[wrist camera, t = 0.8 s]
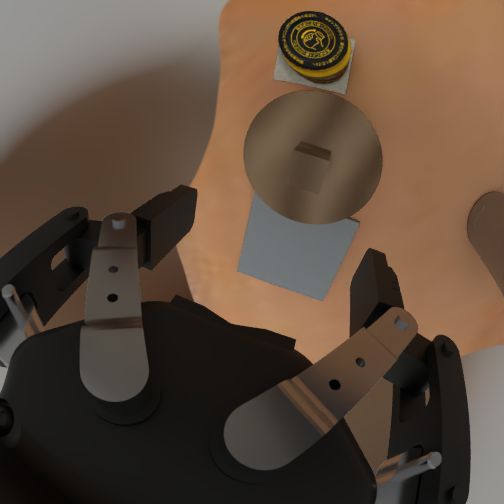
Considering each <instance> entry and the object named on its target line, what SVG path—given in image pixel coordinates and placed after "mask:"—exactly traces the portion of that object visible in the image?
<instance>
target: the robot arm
mask: <svg viewBox="0 0 504 504" xmlns="http://www.w3.org/2000/svg"><path fill="white" fill-rule="evenodd" d="M196 202H197V189H195V188H192V187H188V186H185V185H180V186H178V187H177V188H175V189H173V190H172V191H170V192H165V193H161V194H158V195H157V196H155V197H154V198H152V200H149V201H148V202H147V203H145V204H143V205H142V206H140V207H139V208H137V209H136V210H134V211H133V212H131V213H127V212H116V213H112V214H109V215H107V216H106V217H105V218H104V219H103V221H95V220H89V216H88V210H87V209H86V208H84V207H71V208H67V209H65V210H63V211H62V212H60V213H59V214H57V215H56V216H54V217H53V218H52V219H50V220H49V221H47V222H46V223H45V224H43V225H42V226H41V227H39V228H38V229H37V230H35V231H34V232H32V233H31V234H30V235H29V236H27V237H26V238H25V239H24V240H22V241H21V242H20V243H18V244H17V245H16V246H15V247H13V248H12V249H11V250H10V251H9V252H7V253H6V254H5V255H4V256H3V257H2V258H1V259H0V366H1V367H8V371H7V375H6V379H5V382H4V385H3V388H2V391H1V393H0V504H466V501H467V499H468V494H469V483H470V459H471V456H470V454H471V449H470V425H469V412H468V403H467V395H466V387H465V381H464V375H463V369H462V364H461V359H460V354H459V350H458V348H457V346H456V345H455V343H454V342H453V341H452V340H451V339H450V338H448V337H447V336H445V335H438V336H436V337H435V338H434V340H433V341H432V342H431V341H430V340H428V339H426V338H425V337H423V336H422V335H420V334H419V333H417V332H418V325H417V322H416V320H415V319H414V317H413V316H412V315H411V314H410V313H409V312H407V311H406V310H404V305H403V300H402V296H401V292H400V287H399V283H398V279H397V276H396V274H395V272H394V271H393V269H392V268H391V267H388V264H387V260H386V256H385V254H384V253H382V252H379V251H377V250H374V249H372V248H369V249H368V250H367V251H366V253H365V255H364V257H363V259H362V261H361V263H360V265H359V267H358V268H357V270H356V272H355V274H354V276H353V279H352V282H351V286H350V338H349V339H347V340H346V341H345V342H344V343H342V344H341V345H340V346H338V347H337V348H336V349H334V350H333V351H332V352H330V353H329V354H327V355H326V356H325V357H323V358H322V359H320V360H319V361H318V362H316V363H315V364H312V363H311V362H310V361H309V360H308V359H307V358H306V357H305V356H304V355H302V354H301V353H300V352H298V351H297V350H295V349H294V347H295V342H296V339H293V338H290V337H287V336H284V335H281V334H278V333H275V332H272V331H269V330H266V329H260V328H253V327H247V326H240V325H234V324H231V323H229V322H227V321H226V320H224V319H223V318H221V317H220V316H218V315H217V314H215V313H214V312H212V311H211V310H209V309H208V308H206V307H205V306H203V305H200V304H198V303H195V302H193V301H190V300H188V299H185V298H183V297H181V296H178V295H175V297H174V298H173V299H172V301H171V302H164V301H147V302H141V294H140V281H139V269H140V268H141V267H145V268H147V269H149V270H152V269H153V268H154V267H155V266H156V265H157V264H158V263H159V262H160V261H161V260H162V259H163V258H164V257H165V256H166V255H167V254H168V253H169V252H170V251H171V249H172V248H173V247H174V246H175V245H176V244H177V243H178V242H179V241H180V240H181V239H182V238H183V237H184V236H185V235H186V234H187V233H188V232H189V231H190V230H191V228H192V226H193V223H194V218H195V210H196ZM467 231H468V237H469V240H470V242H471V244H472V245H473V247H474V248H475V250H476V251H477V253H478V254H479V256H480V257H481V259H482V260H483V262H484V264H485V265H486V267H487V268H488V270H489V272H490V273H491V275H492V277H493V278H494V280H495V282H496V283H497V285H498V287H499V289H500V291H501V292H502V294H503V296H504V194H503V193H500V192H491V193H488V194H486V195H484V196H483V197H481V198H480V199H479V200H478V201H477V202H476V204H475V205H474V207H473V209H472V210H471V213H470V215H469V219H468V226H467ZM63 248H64V250H65V255H66V259H64V260H63V261H62V262H61V263H60V264H59V265H58V266H57V267H56V268H55V269H54V270H52V269H51V262H52V259H53V257H54V256H55V255H56V254H57V253H58V252H59V251H61V250H62V249H63ZM88 277H89V279H88V287H87V288H88V289H87V297H86V309H85V319H84V320H81V321H77V322H74V323H71V324H67V325H64V326H61V327H57V328H54V329H50V330H47V331H43V327H44V326H45V325H46V324H47V322H48V321H49V320H50V319H51V318H52V317H53V315H54V314H55V313H56V312H57V311H58V309H59V308H60V307H61V306H62V305H63V304H64V303H65V302H66V301H67V300H68V298H69V297H70V296H71V295H72V294H73V293H74V292H75V291H76V290H77V289H78V288H79V287H80V285H81V284H82V283H83V282H84V281H85V280H86V279H87V278H88ZM382 377H383V378H384V379H386V380H388V381H390V382H392V383H393V401H392V418H391V430H390V440H389V448H388V456H387V460H386V461H384V462H383V463H382V464H381V465H380V467H379V469H378V471H377V474H376V476H375V475H374V473H373V471H372V469H371V467H370V465H369V464H368V462H367V460H366V458H365V456H364V454H363V452H362V451H361V449H360V447H359V445H358V443H357V441H356V439H355V438H354V436H353V434H352V432H351V430H350V428H349V427H348V425H347V423H346V421H345V419H344V416H345V415H346V414H347V413H348V412H349V411H350V410H351V409H352V408H353V407H354V406H355V405H356V404H357V403H358V402H359V401H360V400H361V399H362V398H363V397H364V396H365V395H366V394H367V393H368V392H369V391H370V390H371V389H372V388H373V387H374V386H375V385H376V384H377V383H378V381H379V380H380V379H381V378H382ZM428 388H429V390H430V399H429V402H428V404H427V406H426V404H425V391H426V390H427V389H428Z"/></svg>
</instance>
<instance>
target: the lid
mask: <svg viewBox="0 0 504 504" xmlns="http://www.w3.org/2000/svg"><path fill="white" fill-rule="evenodd" d="M244 164H245V169H246V173H247V176H248V178H249V181H250V183H251V185H252V187H253V189H254V190H255V192H256V193H257V194H258V196H259V197H260V198H261V199H262V200H263V202H264V203H265V204H266V205H268V206H269V207H270V208H271V209H272V210H274V211H275V212H277V213H278V214H280V215H282V216H284V217H286V218H288V219H290V220H293V221H296V222H300V223H305V224H315V225H320V224H329V223H334V222H338V221H341V220H343V219H346V218H348V217H350V216H351V215H353V214H354V213H356V212H358V211H359V210H360V209H361V208H362V207H363V206H364V205H365V204H366V203H367V202H368V201H369V200H370V198H371V197H372V195H373V194H374V192H375V190H376V188H377V186H378V183H379V180H380V177H381V172H382V150H381V146H380V142H379V139H378V136H377V134H376V132H375V130H374V128H373V126H372V125H371V123H370V122H369V120H368V119H367V118H366V116H365V115H364V114H363V113H362V112H361V111H360V110H359V109H358V108H357V107H355V106H354V105H352V104H351V103H350V102H348V101H346V100H345V99H343V98H341V97H339V96H336V95H333V94H331V93H327V92H322V91H314V90H305V91H297V92H292V93H289V94H286V95H283V96H281V97H279V98H277V99H275V100H273V101H272V102H270V103H269V104H267V105H266V106H265V107H264V108H263V109H262V110H261V111H260V112H259V113H258V114H257V116H256V117H255V118H254V120H253V122H252V123H251V125H250V127H249V129H248V132H247V135H246V138H245V143H244Z"/></svg>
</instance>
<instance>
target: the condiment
mask: <svg viewBox="0 0 504 504" xmlns="http://www.w3.org/2000/svg"><path fill="white" fill-rule="evenodd" d="M278 37H279V38H278V42H279V49H278V55H277V56H278V57H277V60H276V67H275V72H274V78H273V80H280V81H286V82H291V83H297V84H302V85H307V86H311V87H316V88H320V89H325V90H329V91H333V92H337V93H341V94H344V95H345V94H346V89H347V84H348V78H349V73H350V68H351V62H352V57H353V51H354V45H355V40H354V39H351V38H348V36H347V34H346V32H345V31H344V28H343V27H342V25H341V24H340V23H339V22H338V21H336V20H335V19H334V18H332V17H331V16H329V15H326V14H324V13H321V12H314V11H304V12H300V13H297V14H295V15H293V16H291V17H290V18H289V19H287V20H286V21H285V23H284V24H283V25H282V26H281V29H280V31H279V36H278Z"/></svg>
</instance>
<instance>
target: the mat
mask: <svg viewBox="0 0 504 504" xmlns="http://www.w3.org/2000/svg"><path fill="white" fill-rule="evenodd" d="M358 226H359V221H356V220H354V219H351V218H346V219H343V220H341V221H338V222H334V223H329V224H320V225H315V224H305V223H300V222H296V221H293V220H290V219H288V218H286V217H284V216H282V215H280V214H278V213H277V212H275V211H274V210H272V209H271V208H270V207H269V206H268V205H266V204H265V203H264V202H263V200H262V199H261V198H260V197H259V196H258V194H257V193H256V192H255V193H254V198H253V202H252V206H251V211H250V215H249V220H248V224H247V229H246V233H245V238H244V242H243V247H242V251H241V256H240V261H239V265H238V270H237V271H238V272H241V273H243V274H246V275H249V276H252V277H254V278H257V279H260V280H263V281H266V282H268V283H271V284H274V285H277V286H280V287H283V288H285V289H288V290H291V291H294V292H297V293H300V294H303V295H306V296H309V297H311V298H314V299H317V300H320V301H323V299H324V298H325V296H326V294H327V292H328V290H329V288H330V286H331V284H332V282H333V280H334V278H335V276H336V274H337V272H338V269H339V267H340V265H341V263H342V261H343V259H344V257H345V255H346V253H347V250H348V248H349V246H350V244H351V242H352V239H353V237H354V235H355V233H356V230H357V228H358Z"/></svg>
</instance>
